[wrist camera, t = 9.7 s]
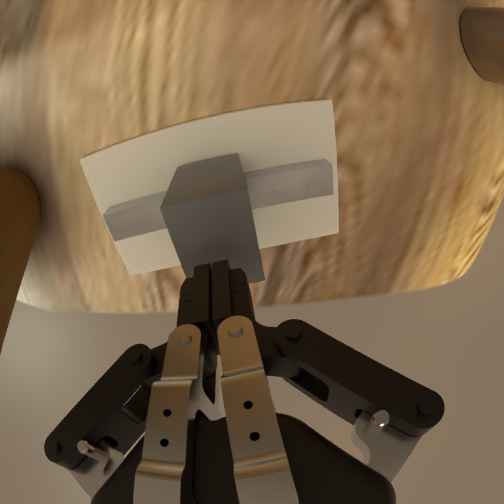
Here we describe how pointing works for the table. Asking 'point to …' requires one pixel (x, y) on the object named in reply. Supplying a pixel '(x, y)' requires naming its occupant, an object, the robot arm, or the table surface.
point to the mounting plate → (211, 146)
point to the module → (212, 216)
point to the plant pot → (15, 236)
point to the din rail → (259, 187)
